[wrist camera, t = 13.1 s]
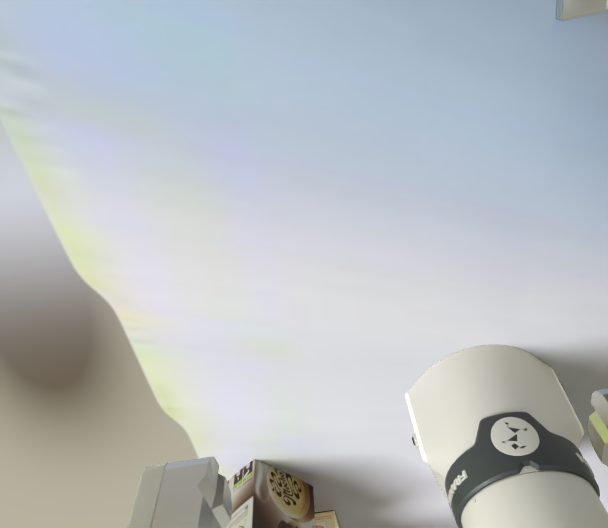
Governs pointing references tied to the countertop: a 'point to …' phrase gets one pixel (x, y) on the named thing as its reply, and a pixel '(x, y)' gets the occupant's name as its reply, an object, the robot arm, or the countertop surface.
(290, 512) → the coffee box
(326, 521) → the coffeecake box
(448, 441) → the robot arm
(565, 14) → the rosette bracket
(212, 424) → the countertop surface
